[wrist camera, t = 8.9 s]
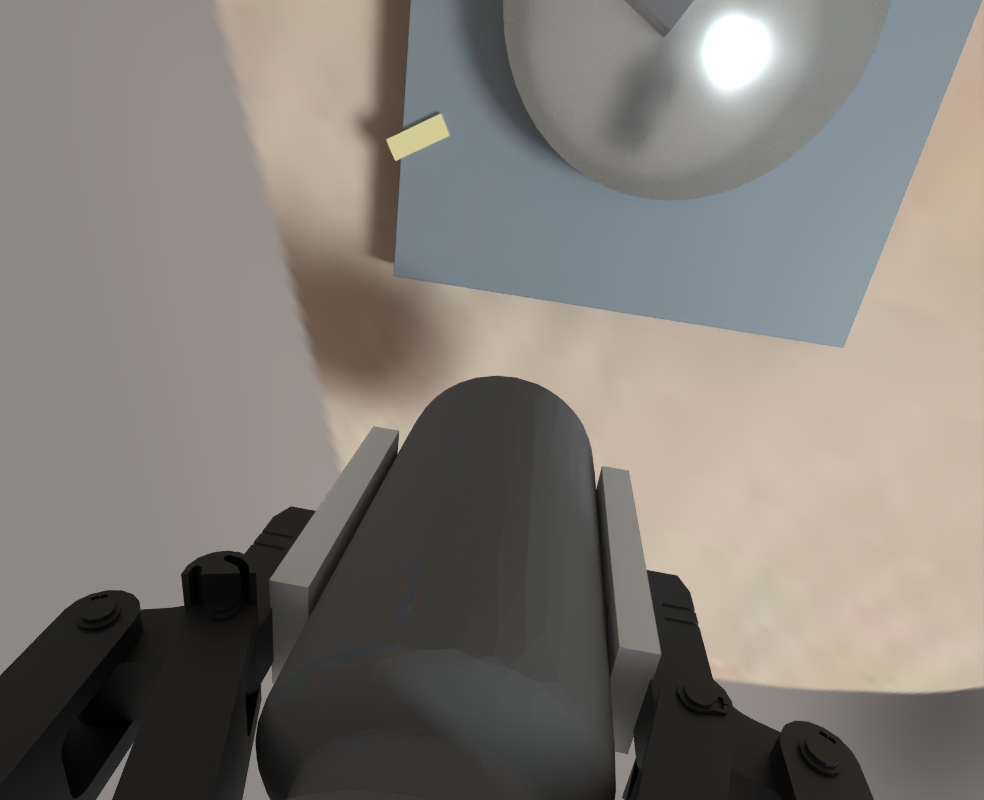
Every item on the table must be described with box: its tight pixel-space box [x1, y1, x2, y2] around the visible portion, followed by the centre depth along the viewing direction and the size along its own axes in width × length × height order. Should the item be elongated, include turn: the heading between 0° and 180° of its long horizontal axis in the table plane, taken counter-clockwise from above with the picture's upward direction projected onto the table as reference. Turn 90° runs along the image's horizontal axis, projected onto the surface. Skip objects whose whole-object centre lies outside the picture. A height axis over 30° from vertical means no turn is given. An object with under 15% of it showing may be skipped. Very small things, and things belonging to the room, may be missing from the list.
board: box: [386, 0, 982, 348], centre depth 18 cm, size 18×16×2 cm
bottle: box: [256, 376, 616, 800], centre depth 12 cm, size 6×6×15 cm
